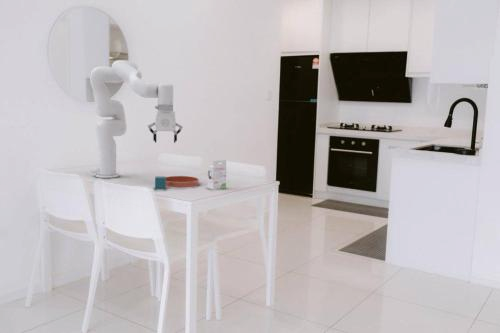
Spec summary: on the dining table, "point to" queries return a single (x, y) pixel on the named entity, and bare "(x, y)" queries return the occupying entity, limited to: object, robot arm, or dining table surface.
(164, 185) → the block
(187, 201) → the dining table surface
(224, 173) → the ink box
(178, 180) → the bowl
